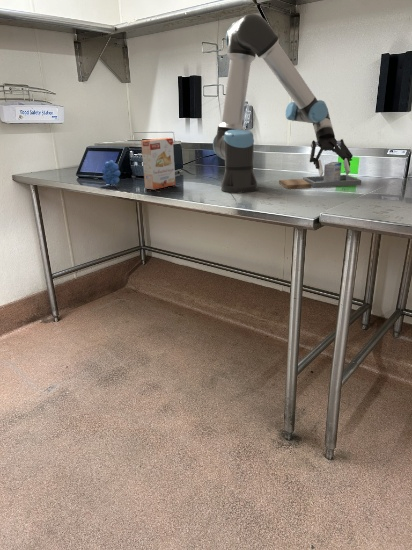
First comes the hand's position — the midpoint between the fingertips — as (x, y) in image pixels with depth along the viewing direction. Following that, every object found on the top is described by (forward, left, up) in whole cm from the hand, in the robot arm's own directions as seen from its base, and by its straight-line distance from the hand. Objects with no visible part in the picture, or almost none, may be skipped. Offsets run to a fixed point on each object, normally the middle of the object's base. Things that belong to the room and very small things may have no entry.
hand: (335, 173), depth 171 cm
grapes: (-95, +28, -5) cm, 99 cm away
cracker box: (-73, +16, -5) cm, 75 cm away
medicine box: (0, +3, -5) cm, 6 cm away
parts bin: (0, +4, -5) cm, 6 cm away
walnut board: (-16, +4, -5) cm, 17 cm away
